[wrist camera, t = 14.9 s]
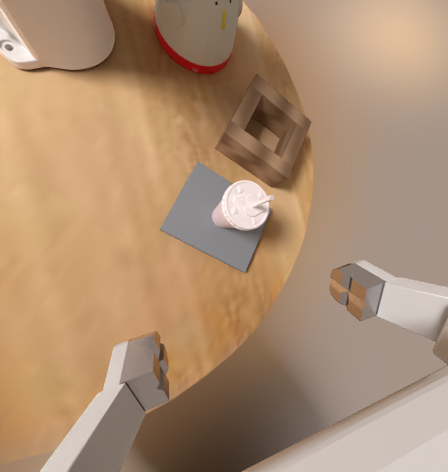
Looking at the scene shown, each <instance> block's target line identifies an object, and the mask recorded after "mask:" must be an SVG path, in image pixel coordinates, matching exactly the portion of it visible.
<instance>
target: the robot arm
mask: <svg viewBox="0 0 448 472" xmlns="http://www.w3.org/2000/svg"><path fill="white" fill-rule="evenodd" d="M114 42H115V31H114V26H113V23H112V21H111V18H110V16H109V13H108V11H107V8H106V6H105V3H104V0H0V55H1V56H3V57H4V58H5V59H6V60H7V61H9V62H10V63H11V64H12V65H14V66H15V67H17V68H19V69H35V68H41V67H54V68H61V69H69V70H78V69H86V68H90V67H93V66H95V65H98V64H99V63H101V62H102V61H104V60H105V59H106V58H107V57H108V56H109V54H110V53H111V51H112V49H113V46H114ZM9 50H12V51H9ZM331 278H332V279H333V280H332V282H331V283H330V292H331V294H332V296H333V298H334V299H335V300H336V301H337V302H338V303H340V304H343V305H346V307H347V310H348V311H349V312H350V313H351V314H352V315H353V316H355V317H356V318H357V319H358V320H359V321H362V320H365V319H367V318H370V317H373V316H376V315H377V317H380V318H382V319H384V320H387V321H389V322H392V323H394V324H396V325H399V326H401V327H403V328H405V329H408V330H410V331H413V332H415V333H417V334H419V335H422V336H424V337H426V338H429V339H431V340H434V341H436V344H435V346H434V348H433V353H434V354H435V355H436V356H437V357H439V358H440V359H441V360H443V361H444V362H445V363H446V364H448V287H445V286H440V285H435V284H430V283H425V282H421V281H416V280H411V279H407V278H402V277H399V278H396V277H394V276H392V275H391V274H389V273H387V272H385V271H383V270H381V269H380V268H378V267H376V266H374V265H372V264H370V263H368V262H367V261H364V260H359V261H356V262H353V263H351V264H347V265H344V266H342V267H339V268H336V269H333V271H332V272H331ZM167 371H168V358H167V352H166V349H165V347H164V344H161V343H160V336H159V334H158V332H157V331H155V332H152V333H149V334H146V335H143V336H140V337H136V338H133V339H130V340H128V341H125V342H122V343H119V344H116V345H115V347H114V349H113V352H112V356H111V360H110V364H109V368H108V372H107V376H106V380H105V384H104V388H103V391H102V392H99V393H98V394H97V395H96V396H95V398H94V399H93V400H92V402H91V403H90V404H89V406H88V407H87V409H86V410H85V411H84V413H83V414H82V415H81V417H80V418H79V419H78V421H77V422H76V423H75V425H74V426H73V427H72V429H71V430H70V432H69V433H68V434H67V436H66V437H65V438H64V440H63V441H62V442H61V444H60V445H59V446H58V448H57V449H56V450H55V452H54V453H53V454H52V456H51V457H50V459H49V460H48V461H47V463H46V464H45V465H44V467H43V468H42V469H41V471H40V472H120V471H121V468H122V466H123V464H124V462H125V459H126V457H127V455H128V452H129V450H130V447H131V445H132V443H133V441H134V439H135V436H136V434H137V432H138V429H139V427H140V425H141V423H142V420H143V418H144V416H145V411H148V410H150V409H152V408H154V407H157V406H159V405H161V404H163V403H165V402H168V401H169V381H168V379H167V377H166V373H167ZM242 472H448V365H447V366H445V367H443V368H442V369H440V370H437V371H436V372H434V373H432V374H430V375H428V376H426V377H424V378H422V379H420V380H418V381H416V382H414V383H412V384H411V385H408V386H407V387H405V388H403V389H401V390H399V391H397V392H395V393H393V394H391V395H389V396H387V397H385V398H383V399H381V400H379V401H378V402H376V403H374V404H372V405H370V406H368V407H366V408H364V409H362V410H360V411H358V412H356V413H354V414H352V415H350V416H348V417H347V418H345V419H343V420H341V421H339V422H337V423H335V424H333V425H332V426H329V427H327V428H325V429H324V430H322V431H320V432H318V433H316V434H314V435H312V436H310V437H308V438H306V439H304V440H302V441H300V442H298V443H296V444H294V445H293V446H290V447H289V448H287V449H285V450H283V451H281V452H279V453H277V454H275V455H273V456H271V457H269V458H267V459H265V460H263V461H261V462H260V463H258V464H256V465H254V466H252V467H250V468H248V469H246V470H244V471H242Z"/></svg>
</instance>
